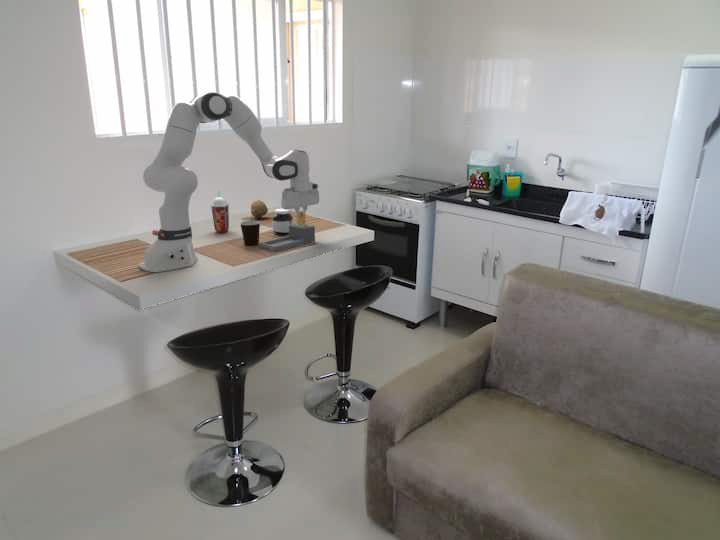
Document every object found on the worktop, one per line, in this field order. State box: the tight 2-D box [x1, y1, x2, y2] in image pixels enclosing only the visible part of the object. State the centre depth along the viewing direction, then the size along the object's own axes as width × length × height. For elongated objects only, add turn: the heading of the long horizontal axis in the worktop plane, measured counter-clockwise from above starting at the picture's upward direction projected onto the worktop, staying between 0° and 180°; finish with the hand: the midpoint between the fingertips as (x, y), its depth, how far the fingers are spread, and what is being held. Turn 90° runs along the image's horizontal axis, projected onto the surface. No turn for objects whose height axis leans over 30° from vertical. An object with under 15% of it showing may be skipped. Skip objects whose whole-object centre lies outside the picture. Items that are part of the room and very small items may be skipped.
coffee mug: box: [240, 220, 261, 247], centre depth 243 cm, size 12×9×10 cm
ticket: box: [296, 210, 306, 227], centre depth 246 cm, size 1×5×9 cm, turn 48°
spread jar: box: [272, 208, 294, 236], centre depth 262 cm, size 12×11×12 cm
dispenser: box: [259, 223, 316, 253], centre depth 242 cm, size 24×10×8 cm, turn 138°
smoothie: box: [210, 191, 230, 234], centre depth 262 cm, size 8×8×20 cm
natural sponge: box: [250, 199, 269, 219], centre depth 292 cm, size 9×9×10 cm
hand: (301, 216), depth 246 cm, fingers closed on ticket, 1 cm apart
